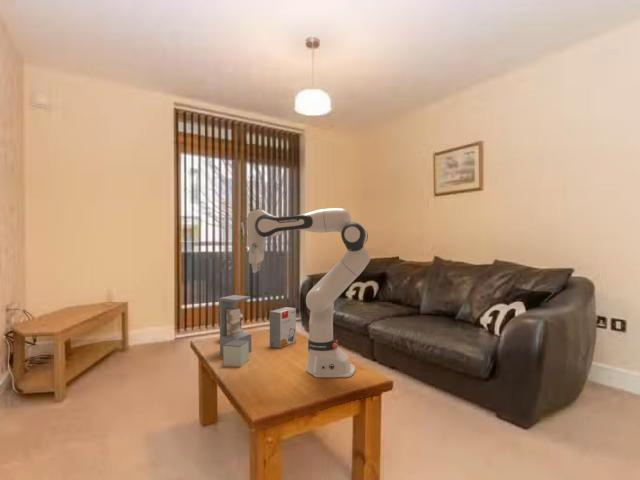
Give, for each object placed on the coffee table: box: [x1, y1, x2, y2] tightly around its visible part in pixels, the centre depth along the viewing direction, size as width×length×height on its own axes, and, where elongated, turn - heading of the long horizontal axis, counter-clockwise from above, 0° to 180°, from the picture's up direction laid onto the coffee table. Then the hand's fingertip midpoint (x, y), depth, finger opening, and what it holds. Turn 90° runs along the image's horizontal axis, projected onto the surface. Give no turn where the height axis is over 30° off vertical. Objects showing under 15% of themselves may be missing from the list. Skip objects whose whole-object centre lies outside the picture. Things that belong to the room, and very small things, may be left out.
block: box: [226, 307, 241, 336], centre depth 193 cm, size 5×5×14 cm
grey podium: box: [218, 294, 252, 356], centre depth 192 cm, size 12×11×30 cm
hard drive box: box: [269, 306, 297, 349], centre depth 206 cm, size 16×8×20 cm, turn 148°
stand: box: [223, 340, 250, 368], centre depth 177 cm, size 9×9×10 cm
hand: (256, 271), depth 174 cm, fingers open, 8 cm apart
